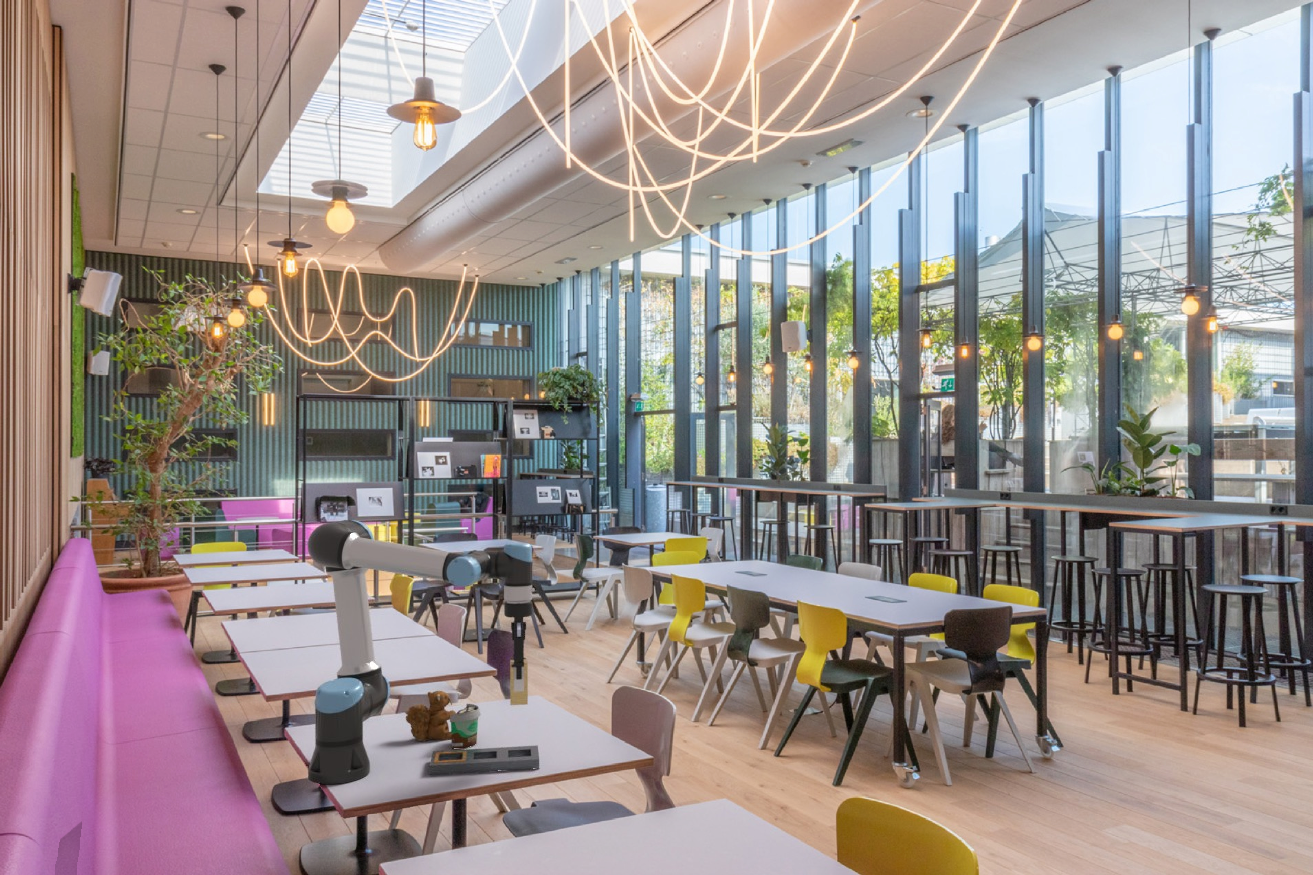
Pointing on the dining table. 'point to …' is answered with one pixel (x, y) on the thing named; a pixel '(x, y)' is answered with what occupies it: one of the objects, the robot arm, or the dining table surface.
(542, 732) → the dining table surface
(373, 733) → the dining table surface
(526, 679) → the brass post
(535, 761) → the grey slotted tray
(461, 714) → the food container
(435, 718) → the stuffed squirrel
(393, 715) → the dining table surface
